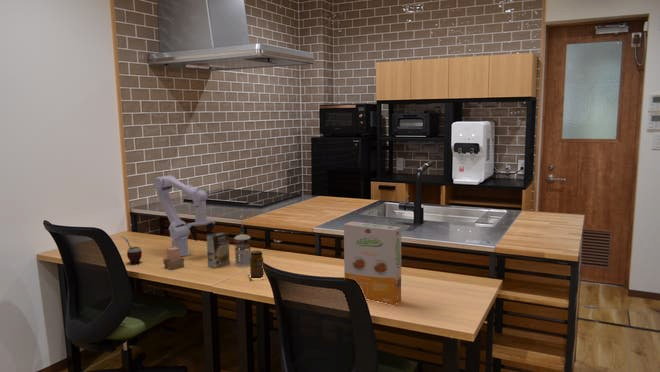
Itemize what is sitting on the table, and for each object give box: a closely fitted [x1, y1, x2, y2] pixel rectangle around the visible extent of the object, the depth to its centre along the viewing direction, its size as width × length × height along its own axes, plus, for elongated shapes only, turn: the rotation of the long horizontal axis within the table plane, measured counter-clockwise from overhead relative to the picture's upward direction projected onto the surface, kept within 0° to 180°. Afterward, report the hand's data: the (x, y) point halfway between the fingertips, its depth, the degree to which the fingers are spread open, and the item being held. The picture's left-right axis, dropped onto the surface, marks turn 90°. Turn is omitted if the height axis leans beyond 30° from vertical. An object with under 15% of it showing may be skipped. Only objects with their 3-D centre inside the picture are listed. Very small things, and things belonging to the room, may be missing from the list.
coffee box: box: [206, 231, 231, 269], centre depth 257 cm, size 9×6×16 cm
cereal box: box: [343, 221, 402, 306], centre depth 206 cm, size 22×6×30 cm, turn 56°
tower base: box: [164, 262, 185, 271], centre depth 255 cm, size 7×7×2 cm
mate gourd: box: [121, 235, 143, 266], centre depth 263 cm, size 8×8×15 cm
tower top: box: [162, 256, 185, 266], centre depth 255 cm, size 7×7×2 cm
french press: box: [233, 215, 252, 268], centre depth 258 cm, size 10×12×25 cm
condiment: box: [248, 250, 265, 281], centre depth 236 cm, size 7×8×12 cm
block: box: [166, 246, 180, 260], centre depth 255 cm, size 4×4×5 cm
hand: (202, 239), depth 270 cm, fingers open, 7 cm apart
